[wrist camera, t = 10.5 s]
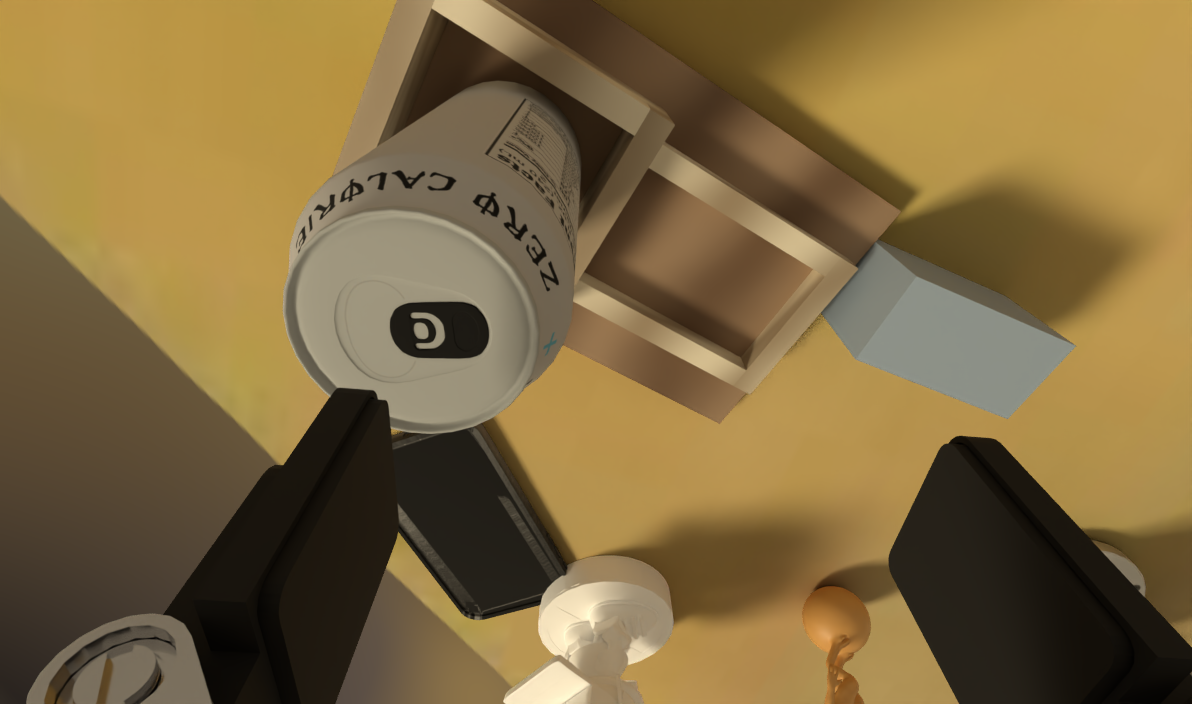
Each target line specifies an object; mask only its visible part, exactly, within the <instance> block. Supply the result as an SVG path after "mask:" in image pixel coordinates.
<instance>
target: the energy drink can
mask: <svg viewBox="0 0 1192 704" xmlns="http://www.w3.org/2000/svg"><path fill="white" fill-rule="evenodd" d="M581 165H582V163H581V154H580V147H579V144H578V141H577V138H576V134H575V132H574V130H573V128H572V126H571V125H570V123H569V121H568V119H567V118H566V116H565V115H564V114H563V113H562V111H561V110H560V109H559V108H558V106H557V105H555V104H554V103H553V102H552V101H551V100H550V99H548V98H547V97H546V96H545V95H543V94H541V93H540V92H538V91H536V90H534V89H532V88H531V87H528V86H525V85H522V84H518V83H515V82H507V81H490V82H482V83H479V84H476V85H473V86H470V87H468V88H466V89H464V90H463V91H461V92H460V93H458V94H456V95H455V96H453V97H452V98H450V99H449V100H447V101H446V102H444V103H443V104H441V105H440V106H438V107H437V108H435V109H434V110H432V111H431V112H429V113H428V114H426V115H425V116H423V117H421V118H420V119H418V120H417V121H415V122H414V123H412V124H411V125H409V126H408V127H406V128H405V129H403V130H402V131H400V132H399V133H397V134H396V135H394V136H393V137H391V138H390V139H388V140H387V141H385V142H384V143H382V144H381V145H379V146H378V147H376V148H375V149H373V150H372V151H370V152H369V153H367V154H366V155H364V156H363V157H361V158H360V159H358V160H356V161H355V162H353V163H352V164H350V165H349V166H347V167H346V168H344V169H343V170H341V171H340V172H338V173H337V174H335V175H334V176H332V177H331V178H329V179H328V180H327V181H326V182H325V183H324V184H323V185H322V186H321V187H320V189H319V190H318V191H317V192H316V193H315V194H314V195H313V196H312V197H311V198H310V199H309V201H308V203H307V205H306V206H305V208H304V210H303V211H302V213H301V215H300V217H299V218H298V220H297V223H296V227H295V230H294V233H293V237H292V240H291V244H290V257H289V273H288V277H287V280H286V283H285V287H284V295H283V315H284V321H285V326H286V332H287V335H288V338H289V340H290V343H291V345H292V348H293V350H294V353H295V355H296V357H297V358H298V360H299V361H300V363H301V364H302V366H303V368H304V369H305V371H306V372H307V374H308V375H309V376H310V377H311V378H312V380H313V381H314V382H315V383H316V384H317V385H318V386H319V387H320V388H321V389H322V390H323V391H324V392H325V393H326V394H327V395H328V396H331V395H332V393H333V392H334V391H335V390H336V389H337V388H352V389H365V390H374V391H375V392H376V394H377V397H378V399H379V400H386V401H387V402H388V406H389V415H390V426H391V428H392V429H396V430H400V431H405V432H412V433H426V434H435V433H446V432H454V431H458V430H462V429H466V428H470V427H474V426H476V425H478V424H480V423H482V422H484V421H487V420H489V419H491V418H493V417H494V416H496V415H497V414H499V413H500V412H501V411H503V410H504V409H506V408H507V407H508V406H510V405H511V403H512V402H513V401H514V400H515V399H516V398H517V397H518V396H519V395H520V393H521V392H522V391H523V390H524V388H526V387H527V386H528V385H530V384H531V383H532V382H534V381H535V380H537V379H538V378H539V377H540V376H541V375H542V373H543V372H544V371H545V370H546V369H547V368H548V367H549V366H550V365H551V363H552V362H553V361H554V359H555V358H556V356H557V354H558V352H559V351H560V349H561V347H562V345H563V344H564V342H565V339H566V336H567V332H568V329H569V326H570V323H571V320H572V309H573V297H574V281H575V265H576V248H577V232H578V215H579V198H580V182H581Z"/></svg>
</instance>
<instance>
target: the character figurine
mask: <svg viewBox="0 0 1192 704" xmlns="http://www.w3.org/2000/svg"><path fill="white" fill-rule="evenodd" d="M567 566H568V570H567V571H566V575H565V576H561V577H560V578H558V579H557V580H555V581H554V582H553V583H552V584H551V585H550V586H549V587H548V588H547V590H546V591H545V593H544V595H543V596H542V600H541V604H540V611H539V630H538V632H539V635H540V637H541V640H542V643H543V644H544V645H545V646H546V647H547V649H548V650H549V651H550V652H551V653H553V654H554V655H556V656H555V657H553V658H552V659H550V660H549V661H548V662H546V663H545V664H544V665H542V666H541V667H540V668H538V669H537V670H536V671H534V672H533V673H532V674H530V675H529V676H528V677H526V678H525V679H523V680H522V681H521V682H519V683H518V684H517V685H515V686H514V687H513V688H511V689H510V690H509V691H508V692H507V693H506V695H505V698H504V703H506V704H644V702H643V698H642V696H641V694H640V692H639V691H638V687H637V681H635V680H622V679H620V677H621V675H622V673H623V672H624V670H625V668H626V667H627V665H629V664H633V663H636V662H639V661H641V660H643V659H645V658H647V657H649V656H651V655H653V654H654V653H655V652H657V651H658V650H659V649H660V648H661V647H662V646H664V645H665V643H666V642H667V640H668V639H669V637H670V635H671V633H672V629H673V625H674V620H673V613H672V605H671V598H670V590H669V586H668V584H667V582H666V580H665V579H664V577H663V576H662V575H661V574H660V572H658V571H657V570H656V569H654V568H653V567H652V566H650V565H648V564H646V563H644V562H642V561H640V560H636V559H633V558H630V557H624V556H616V555H602V556H594V557H588V558H585V559H581V560H578V561H575V562H573V563H571V564H568V565H567Z"/></svg>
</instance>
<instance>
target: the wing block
mask: <svg viewBox="0 0 1192 704" xmlns="http://www.w3.org/2000/svg"><path fill="white" fill-rule="evenodd" d="M855 266H856V267H857V268H858V270H857V271H856V272H855V274H854V275H853V276H852V277H851V278H850V279H849V280H848V282H847V283H846V284H845V285H844V286H843V287H842V289H841V290H840V291H839V292H838V293H837V294H836V296H835V297H834V298H833V299H832V300H831V301H830V303H829V304H828V305H827V306H826V307H825V308H824V309H823V311H822V312H821V314H822V315H823V316H824V318H825V319H826V320H827V322H828V323H829V324H830V326H831V327H832V328H833V330H834V331H835V332H836V334H837V335H838V336H839V338H840V339H841V341H842V342H843V343H844V345H845V346H846V347H847V349H848V350H849V351H850V353H851V354H852V355H853V357H854V358H855V359H856V360H858V361H861V362H864V363H866V364H869V365H871V366H874V367H876V368H879V369H881V370H884V371H886V372H889V373H892V374H894V375H897V376H899V377H902V378H904V379H907V380H909V381H912V382H914V383H917V384H920V385H922V386H925V387H927V388H930V389H932V390H935V391H937V392H940V393H943V394H945V395H948V396H950V397H953V398H955V399H958V400H960V401H963V402H965V403H968V404H971V405H973V406H976V407H978V408H981V409H983V410H986V411H988V412H991V413H993V414H996V415H999V416H1001V417H1004V418H1006V419H1008V418H1009V417H1010V416H1011V415H1012V414H1013V413H1014V412H1015V411H1016V410H1017V409H1018V407H1019V406H1020V405H1021V404H1022V403H1023V402H1024V401H1025V400H1026V399H1027V398H1028V397H1029V396H1030V395H1031V394H1032V393H1033V391H1034V390H1035V389H1036V388H1037V387H1038V386H1039V385H1040V384H1041V383H1042V382H1043V381H1044V380H1045V379H1046V378H1047V377H1048V375H1049V374H1050V373H1051V372H1052V371H1053V370H1054V369H1055V368H1056V367H1057V366H1058V365H1059V364H1060V363H1061V362H1062V361H1063V359H1064V358H1065V357H1066V356H1067V355H1068V354H1069V353H1070V352H1071V351H1072V350H1073V349H1074V348H1075V347H1076V345H1074V344H1073V343H1071V342H1070V341H1068V340H1067V339H1066V338H1064V337H1063V336H1061V335H1060V334H1058V333H1057V332H1056V331H1054V330H1053V329H1051V328H1050V327H1049V326H1047V325H1046V324H1044V323H1043V322H1041V321H1040V320H1039V319H1037V318H1036V317H1034V316H1033V315H1031V314H1030V313H1029V312H1027V311H1026V310H1024V309H1023V308H1022V307H1020V306H1019V305H1017V304H1016V303H1014V302H1013V301H1012V300H1010V299H1009V298H1007V297H1006V296H1004V295H1002V294H1000V293H997V292H995V291H993V290H991V289H988V288H986V287H984V286H982V285H979V284H977V283H975V282H973V281H970V280H968V279H966V278H964V277H961V276H959V275H957V274H955V273H952V272H950V271H948V270H946V269H943V268H941V267H939V266H937V265H934V264H932V263H930V262H928V261H925V260H923V259H921V258H919V257H916V256H914V255H912V254H910V253H907V252H905V251H903V250H901V249H898V248H896V247H894V246H892V245H889V244H887V243H885V242H883V241H880V240H878V239H877V241H876V242H875V243H874V244H873V245H872V246H871V248H870V249H869V250H868V251H867V252H866V253H865V255H864V256H863V257H862V258H861V259H860V260H859V262H858V263H857V264H856V265H855Z"/></svg>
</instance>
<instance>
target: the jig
mask: <svg viewBox="0 0 1192 704" xmlns="http://www.w3.org/2000/svg"><path fill="white" fill-rule="evenodd" d="M490 81H507V82H515V83H518V84H522V85H525V86H528V87H531V88H532V89H534V90H536V91H538V92H540V93H541V94H543V95H545V96H546V97H547V98H548V99H550V100H551V101H552V102H553V103H554V104H555V105H557V106H558V108H559V109H560V110H561V111H562V113H563V114H564V115H565V116H566V118H567V119H568V121H569V123H570V125H571V126H572V128H573V130H574V132H575V134H576V138H577V141H578V144H579V147H580V154H581V163H582V165H581V182H580V198H579V215H578V232H577V248H576V265H575V281H574V297H573V309H572V320H571V323H570V326H569V329H568V332H567V336H566V339H565V342H564V344H563V345H564V346H566V347H568V348H570V349H572V350H574V351H576V352H578V353H580V354H582V355H584V356H586V357H588V358H590V359H592V360H594V361H596V362H598V363H600V364H602V365H604V366H606V367H608V368H610V369H612V370H614V371H616V372H618V373H620V374H622V375H624V376H626V377H628V378H630V379H632V380H634V381H636V382H638V383H640V384H642V385H644V386H646V387H648V388H650V389H652V390H654V391H656V392H658V393H660V394H662V395H664V396H666V397H668V398H670V399H672V400H673V401H675V402H677V403H679V404H681V405H683V406H685V407H687V408H689V409H691V410H693V411H695V412H697V413H699V414H701V415H703V416H705V417H707V418H709V419H711V420H713V421H715V422H717V423H719V424H720V423H721V422H722V420H723V419H724V418H725V417H726V416H727V415H728V413H729V412H730V411H731V410H732V409H733V408H734V406H735V405H736V404H737V403H738V402H739V401H740V399H741V398H742V397H743V396H744V395H745V394H746V393H748V394H751V393H752V392H753V391H754V389H755V388H756V387H757V386H758V385H759V384H760V383H761V381H762V380H763V379H764V378H765V377H766V376H767V374H768V373H769V372H770V371H771V370H772V369H773V367H774V366H775V365H776V364H777V363H778V362H779V360H780V359H781V358H782V357H783V356H784V355H785V354H786V352H787V351H788V350H789V349H790V348H791V347H792V345H793V344H794V343H795V342H796V341H797V340H798V338H799V337H800V336H801V335H802V334H803V333H804V332H805V330H806V329H807V328H808V327H809V326H810V325H811V323H812V322H813V321H814V320H815V319H816V318H817V316H818V315H819V314H820V313H821V312H822V311H823V309H824V308H825V307H826V306H827V305H828V304H829V303H830V301H831V300H832V299H833V298H834V297H835V296H836V294H837V293H838V292H839V291H840V290H841V289H842V287H843V286H844V285H845V284H846V283H847V282H848V280H849V279H850V278H851V277H852V276H853V275H854V274H855V272H856V271H857V270H858V268H857V267H856V266H855V265H856V264H857V263H858V262H859V260H860V259H861V258H862V257H863V256H864V255H865V253H866V252H867V251H868V250H869V249H870V248H871V246H872V245H873V244H874V243H875V242H876V241H877V239H878V238H879V237H880V236H881V235H882V234H883V232H884V231H885V230H886V229H887V228H888V227H889V225H890V224H891V223H892V222H893V221H894V220H895V218H896V217H897V216H898V215H899V214H900V213H901V211H900V210H898V209H897V208H895V207H894V206H892V205H891V204H889V203H888V202H886V201H885V200H883V199H882V198H881V197H879V196H878V195H876V194H875V193H873V192H872V191H870V190H869V189H867V188H866V187H864V186H863V185H862V184H860V183H859V182H857V181H856V180H854V179H853V178H851V177H850V176H848V175H847V174H845V173H844V172H843V171H841V170H840V169H838V168H837V167H835V166H834V165H832V164H831V163H829V162H828V161H826V160H825V159H824V158H822V157H821V156H819V155H818V154H816V153H815V152H813V151H812V150H810V149H809V148H807V147H806V146H804V145H803V144H802V143H800V142H799V141H797V140H796V139H794V138H793V137H791V136H790V135H788V134H787V133H785V132H784V131H783V130H781V129H780V128H778V127H777V126H775V125H774V124H772V123H771V122H769V121H768V120H766V119H765V118H764V117H762V116H761V115H759V114H758V113H756V112H755V111H753V110H752V109H750V108H749V107H747V106H746V105H744V104H743V103H742V102H740V101H739V100H737V99H736V98H734V97H733V96H731V95H730V94H728V93H727V92H725V91H724V90H723V89H721V88H720V87H718V86H717V85H715V84H714V83H712V82H711V81H709V80H708V79H706V78H705V77H704V76H702V75H701V74H699V73H698V72H696V71H695V70H693V69H692V68H690V67H689V66H687V65H686V64H684V63H683V62H682V61H680V60H679V59H677V58H676V57H674V56H673V55H671V54H670V53H668V52H667V51H665V50H664V49H663V48H661V47H660V46H658V45H657V44H655V43H654V42H652V41H651V40H649V39H648V38H646V37H645V36H644V35H642V34H641V33H639V32H638V31H636V30H635V29H633V28H632V27H630V26H629V25H627V24H626V23H624V22H623V21H622V20H620V19H619V18H617V17H616V16H614V15H613V14H611V13H610V12H608V11H607V10H605V9H604V8H603V7H601V6H600V5H598V4H597V3H595V2H594V1H592V0H397V2H396V4H395V7H394V10H393V12H392V15H391V18H390V21H389V23H388V26H387V29H386V31H385V34H384V37H383V40H382V42H381V45H380V48H379V51H378V53H377V56H376V59H375V61H374V64H373V67H372V70H371V72H370V75H369V78H368V80H367V83H366V86H365V89H364V91H363V94H362V97H361V99H360V102H359V105H358V108H357V110H356V113H355V116H354V119H353V121H352V124H351V127H350V129H349V132H348V135H347V138H346V140H345V143H344V146H343V148H342V151H341V154H340V157H339V159H338V162H337V165H336V167H335V170H334V173H333V176H334V175H335V174H337V173H338V172H340V171H341V170H343V169H344V168H346V167H347V166H349V165H350V164H352V163H353V162H355V161H356V160H358V159H360V158H361V157H363V156H364V155H366V154H367V153H369V152H370V151H372V150H373V149H375V148H376V147H378V146H379V145H381V144H382V143H384V142H385V141H387V140H388V139H390V138H391V137H393V136H394V135H396V134H397V133H399V132H400V131H402V130H403V129H405V128H406V127H408V126H409V125H411V124H412V123H414V122H415V121H417V120H418V119H420V118H421V117H423V116H425V115H426V114H428V113H429V112H431V111H432V110H434V109H435V108H437V107H438V106H440V105H441V104H443V103H444V102H446V101H447V100H449V99H450V98H452V97H453V96H455V95H456V94H458V93H460V92H461V91H463V90H464V89H466V88H468V87H470V86H473V85H476V84H479V83H482V82H490Z"/></svg>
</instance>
